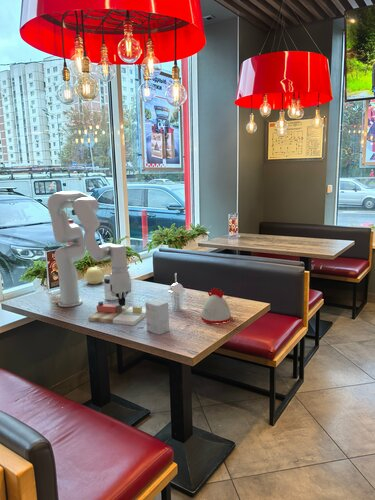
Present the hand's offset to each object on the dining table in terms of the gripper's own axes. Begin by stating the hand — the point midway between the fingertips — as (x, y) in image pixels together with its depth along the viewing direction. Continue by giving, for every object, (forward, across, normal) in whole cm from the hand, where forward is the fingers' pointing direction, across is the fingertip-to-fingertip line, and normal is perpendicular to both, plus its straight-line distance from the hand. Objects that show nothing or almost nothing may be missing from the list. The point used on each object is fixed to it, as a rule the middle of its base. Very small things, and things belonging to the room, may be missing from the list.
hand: (122, 305), depth 194 cm
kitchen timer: (+4, -28, +39) cm, 48 cm away
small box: (+4, 0, +33) cm, 33 cm away
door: (+3, +1, +11) cm, 11 cm away
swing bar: (+1, +8, 0) cm, 8 cm away
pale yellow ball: (+3, -13, -60) cm, 62 cm away
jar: (+3, -6, -24) cm, 25 cm away
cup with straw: (+4, -22, +17) cm, 28 cm away
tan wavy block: (+3, +7, +1) cm, 8 cm away
